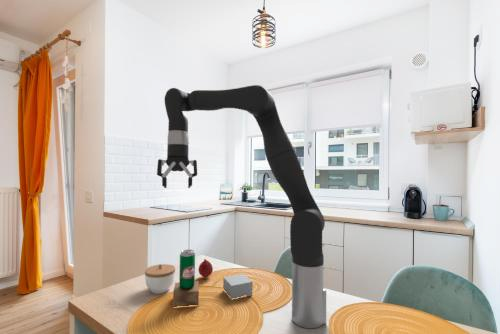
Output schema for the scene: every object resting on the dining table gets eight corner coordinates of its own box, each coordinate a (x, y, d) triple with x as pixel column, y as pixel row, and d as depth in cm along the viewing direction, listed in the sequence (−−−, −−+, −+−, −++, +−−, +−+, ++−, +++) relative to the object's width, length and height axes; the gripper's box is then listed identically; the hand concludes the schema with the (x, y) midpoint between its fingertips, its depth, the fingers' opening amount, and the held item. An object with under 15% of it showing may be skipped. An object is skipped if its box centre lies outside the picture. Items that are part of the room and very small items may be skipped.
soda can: (182, 291, 86) (182, 254, 86) (177, 285, 90) (177, 250, 90) (196, 287, 89) (197, 252, 89) (191, 282, 93) (191, 248, 93)
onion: (214, 275, 112) (214, 256, 112) (210, 281, 106) (210, 261, 106) (200, 275, 112) (200, 256, 113) (196, 280, 107) (196, 260, 107)
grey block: (242, 286, 101) (242, 273, 101) (252, 295, 94) (252, 281, 94) (223, 290, 98) (223, 277, 98) (231, 300, 90) (231, 285, 91)
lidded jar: (149, 299, 91) (149, 272, 91) (141, 288, 99) (141, 263, 100) (179, 291, 97) (179, 265, 97) (169, 281, 106) (169, 258, 106)
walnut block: (198, 295, 94) (198, 281, 94) (198, 306, 86) (198, 291, 86) (175, 297, 92) (175, 282, 93) (173, 308, 85) (173, 293, 85)
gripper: (156, 142, 92) (155, 188, 92) (197, 143, 95) (197, 188, 95) (159, 144, 100) (158, 187, 99) (197, 145, 103) (197, 187, 102)
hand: (177, 187), depth 97 cm, fingers open, 8 cm apart
